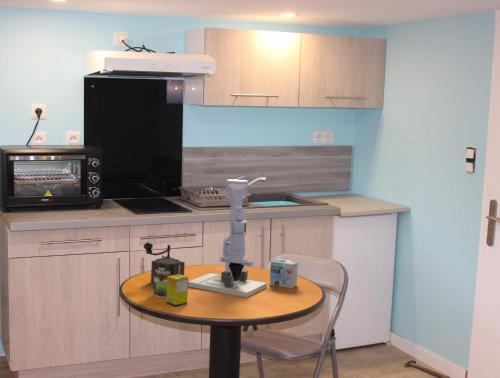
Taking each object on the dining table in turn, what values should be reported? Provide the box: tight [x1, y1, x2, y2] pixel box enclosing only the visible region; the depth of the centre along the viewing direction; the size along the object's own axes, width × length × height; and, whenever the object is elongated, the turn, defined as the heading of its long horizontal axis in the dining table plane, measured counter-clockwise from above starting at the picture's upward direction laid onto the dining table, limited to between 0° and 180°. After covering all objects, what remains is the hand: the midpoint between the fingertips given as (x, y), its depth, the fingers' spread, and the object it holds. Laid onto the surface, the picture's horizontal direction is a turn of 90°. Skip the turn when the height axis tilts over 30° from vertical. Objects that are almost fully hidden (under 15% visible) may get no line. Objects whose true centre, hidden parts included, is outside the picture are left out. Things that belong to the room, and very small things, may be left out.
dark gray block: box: [220, 270, 230, 282], centre depth 305 cm, size 2×3×4 cm
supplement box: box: [166, 274, 189, 308], centre depth 276 cm, size 6×6×11 cm
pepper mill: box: [143, 242, 186, 284], centre depth 304 cm, size 16×11×18 cm
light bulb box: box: [269, 258, 299, 289], centre depth 312 cm, size 11×7×11 cm, turn 68°
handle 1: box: [224, 276, 234, 288], centre depth 297 cm, size 2×3×4 cm
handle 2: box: [239, 269, 249, 281], centre depth 308 cm, size 2×3×4 cm
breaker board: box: [188, 272, 268, 298], centre depth 305 cm, size 19×28×2 cm
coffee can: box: [153, 257, 181, 299], centre depth 287 cm, size 10×10×14 cm
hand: (235, 280), depth 303 cm, fingers closed
